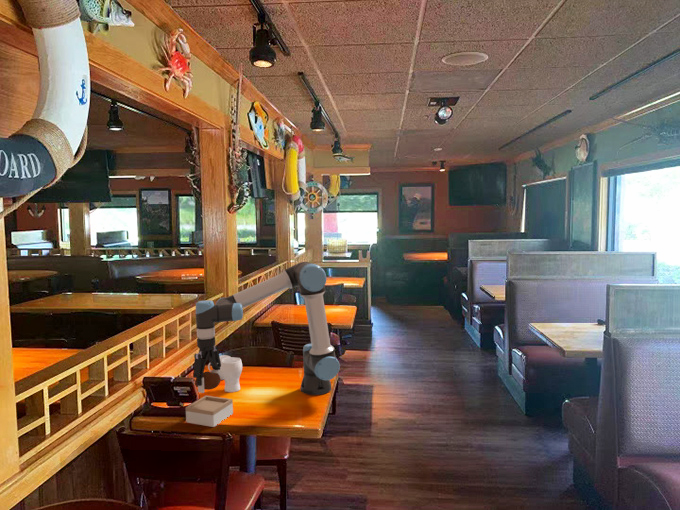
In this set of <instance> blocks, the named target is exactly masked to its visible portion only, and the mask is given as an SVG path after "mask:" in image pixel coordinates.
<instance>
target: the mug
mask: <svg viewBox="0 0 680 510" xmlns="http://www.w3.org/2000/svg"><path fill="white" fill-rule="evenodd" d="M219 357H220V362H221V361H222V360H223V359H226V358H232V357H231V356H230V355H227V354H226V355H225V354H223V355H219ZM217 364H218V363H217ZM210 366H211V364H210V362H209V363H208V364H207V368H208V370H209V371H208V372H211V370H212V369H211V367H210ZM218 374H219V376H220V381H225V379H224V377H223V375H222V373H221V368H220V370H218Z"/></svg>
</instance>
